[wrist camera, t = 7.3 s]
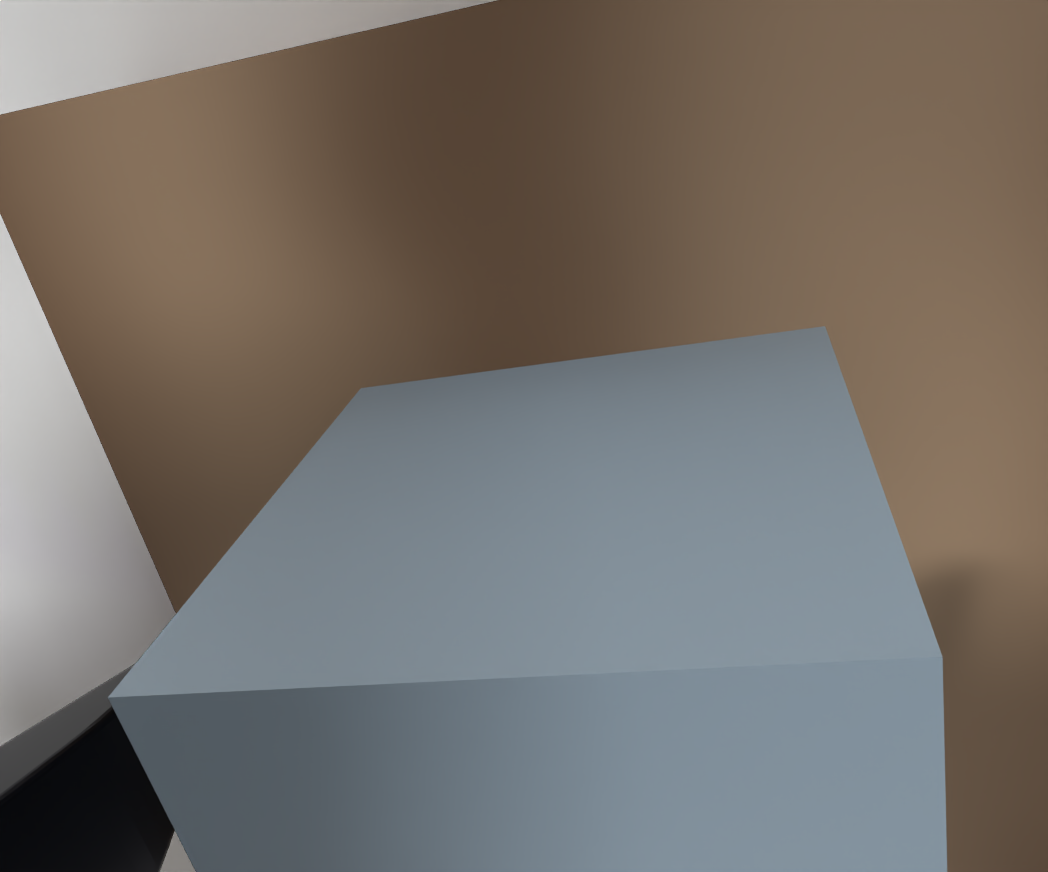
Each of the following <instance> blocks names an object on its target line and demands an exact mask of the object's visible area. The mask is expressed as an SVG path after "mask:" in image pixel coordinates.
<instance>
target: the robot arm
mask: <svg viewBox="0 0 1048 872" xmlns="http://www.w3.org/2000/svg"><path fill="white" fill-rule="evenodd" d="M134 665H135V664H134ZM134 665H132V666H131V667H129V668H127V669H126V670H124V671H123V672H121V673H119V674H118V675H116V676H114V677H113V678H111V679H109V680H108V681H106V682H105V683H103V684H101V685H100V686H98V687H96V688H95V689H93V690H91V691H90V692H88V693H87V694H85V695H83V696H82V697H80V698H78V699H77V700H75V701H73V702H72V703H70V704H69V705H67V706H65V707H64V708H62V709H60V710H59V711H57V712H56V713H54V714H52V715H51V716H49V717H47V718H46V719H44V720H42V721H41V722H39V723H38V724H36V725H34V726H33V727H31V728H29V729H28V730H26V731H24V732H23V733H21V734H20V735H18V736H16V737H15V738H13V739H11V740H10V741H8V742H7V743H5V744H3V745H2V746H0V872H160V869H161V867H162V864H163V861H164V859H165V856H166V853H167V851H168V848H169V845H170V842H171V839H172V836H173V833H174V831H175V829H174V827H173V825H172V824H171V822H170V820H169V818H168V816H167V814H166V812H165V810H164V808H163V806H162V804H161V802H160V800H159V798H158V796H157V794H156V792H155V790H154V788H153V786H152V784H151V782H150V780H149V778H148V776H147V774H146V772H145V770H144V768H143V766H142V764H141V762H140V760H139V758H138V756H137V754H136V752H135V750H134V748H133V746H132V744H131V742H130V740H129V738H128V736H127V735H126V733H125V731H124V729H123V727H122V725H121V723H120V721H119V719H118V717H117V715H116V713H115V711H114V709H113V707H112V705H111V703H110V701H109V699H108V697H109V695H110V694H111V693H112V692H113V691H114V689H115V688H116V687H117V686H118V684H119V683H120V682H121V681H122V680H123V678H124V677H125V676H126V675H127V673H128V672H129V671H130V670H131V669H132V667H133V666H134Z"/></svg>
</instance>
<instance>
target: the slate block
mask: <svg viewBox="0 0 1048 872" xmlns="http://www.w3.org/2000/svg"><path fill="white" fill-rule="evenodd" d="M108 699H109V701H110V703H111V705H112V707H113V709H114V711H115V713H116V715H117V717H118V719H119V721H120V723H121V725H122V727H123V729H124V731H125V733H126V735H127V736H128V738H129V740H130V742H131V744H132V746H133V748H134V750H135V752H136V754H137V756H138V758H139V760H140V762H141V764H142V766H143V768H144V770H145V772H146V774H147V776H148V778H149V780H150V782H151V784H152V786H153V788H154V790H155V792H156V794H157V796H158V798H159V800H160V802H161V804H162V806H163V808H164V810H165V812H166V814H167V816H168V818H169V820H170V822H171V824H172V825H173V827H174V829H175V831H176V833H177V835H178V837H179V839H180V841H181V843H182V845H183V847H184V849H185V851H186V853H187V855H188V857H189V859H190V861H191V863H192V865H193V867H194V869H195V871H196V872H947V839H946V793H945V748H944V702H943V657H942V654H941V651H940V648H939V645H938V643H937V640H936V637H935V634H934V631H933V629H932V626H931V623H930V620H929V617H928V614H927V612H926V609H925V606H924V603H923V600H922V598H921V595H920V592H919V589H918V586H917V584H916V581H915V578H914V575H913V572H912V569H911V567H910V564H909V561H908V558H907V555H906V553H905V550H904V547H903V544H902V541H901V538H900V536H899V533H898V530H897V527H896V524H895V522H894V519H893V516H892V513H891V510H890V507H889V505H888V502H887V499H886V496H885V493H884V491H883V488H882V485H881V482H880V479H879V477H878V474H877V471H876V468H875V465H874V462H873V460H872V457H871V454H870V451H869V448H868V446H867V443H866V440H865V437H864V434H863V431H862V429H861V426H860V423H859V420H858V417H857V415H856V412H855V409H854V406H853V403H852V400H851V398H850V395H849V392H848V389H847V386H846V384H845V381H844V378H843V375H842V372H841V370H840V367H839V364H838V361H837V358H836V355H835V353H834V350H833V347H832V344H831V341H830V339H829V336H828V333H827V330H826V327H825V326H822V327H815V328H808V329H800V330H793V331H785V332H778V333H770V334H763V335H755V336H748V337H740V338H733V339H725V340H718V341H710V342H703V343H695V344H688V345H680V346H673V347H665V348H658V349H650V350H643V351H635V352H628V353H621V354H613V355H606V356H598V357H591V358H583V359H576V360H568V361H561V362H553V363H546V364H538V365H531V366H523V367H516V368H508V369H501V370H493V371H486V372H478V373H471V374H463V375H456V376H449V377H441V378H434V379H426V380H419V381H411V382H404V383H396V384H389V385H381V386H374V387H366V388H361V389H360V390H359V391H358V392H357V394H356V395H355V396H354V397H353V398H352V400H351V401H350V402H349V403H348V405H347V406H346V407H345V408H344V409H343V411H342V412H341V413H340V414H339V416H338V417H337V418H336V419H335V420H334V422H333V423H332V424H331V425H330V427H329V428H328V429H327V430H326V431H325V433H324V434H323V435H322V436H321V438H320V439H319V440H318V441H317V442H316V444H315V445H314V446H313V447H312V449H311V450H310V451H309V452H308V453H307V455H306V456H305V457H304V458H303V460H302V461H301V462H300V463H299V464H298V466H297V467H296V468H295V469H294V471H293V472H292V473H291V474H290V475H289V477H288V478H287V479H286V480H285V482H284V483H283V484H282V485H281V486H280V488H279V489H278V490H277V491H276V493H275V494H274V495H273V496H272V497H271V499H270V500H269V501H268V502H267V504H266V505H265V506H264V507H263V508H262V510H261V511H260V512H259V513H258V515H257V516H256V517H255V518H254V519H253V521H252V522H251V523H250V524H249V526H248V527H247V528H246V529H245V530H244V532H243V533H242V534H241V535H240V537H239V538H238V539H237V540H236V541H235V543H234V544H233V545H232V546H231V548H230V549H229V550H228V551H227V552H226V554H225V555H224V556H223V557H222V559H221V560H220V561H219V562H218V563H217V565H216V566H215V567H214V568H213V570H212V571H211V572H210V573H209V574H208V576H207V577H206V578H205V579H204V581H203V582H202V583H201V584H200V585H199V587H198V588H197V589H196V590H195V592H194V593H193V594H192V595H191V596H190V598H189V599H188V600H187V601H186V603H185V604H184V605H183V606H182V607H181V609H180V610H179V611H178V612H177V614H176V615H175V616H174V617H173V618H172V620H171V621H170V622H169V623H168V625H167V626H166V627H165V628H164V629H163V631H162V632H161V633H160V634H159V636H158V637H157V638H156V639H155V640H154V642H153V643H152V644H151V645H150V647H149V648H148V649H147V650H146V651H145V653H144V654H143V655H142V656H141V658H140V659H139V660H138V661H137V662H136V664H135V665H134V666H133V667H132V669H131V670H130V671H129V672H128V673H127V675H126V676H125V677H124V678H123V680H122V681H121V682H120V683H119V684H118V686H117V687H116V688H115V689H114V691H113V692H112V693H111V694H110V695H109V697H108Z"/></svg>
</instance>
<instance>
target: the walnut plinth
mask: <svg viewBox="0 0 1048 872" xmlns="http://www.w3.org/2000/svg"><path fill="white" fill-rule="evenodd" d="M0 214H1V216H2V219H3V221H4V223H5V225H6V228H7V230H8V232H9V234H10V237H11V239H12V241H13V244H14V246H15V248H16V250H17V253H18V255H19V257H20V260H21V262H22V264H23V266H24V269H25V271H26V273H27V275H28V278H29V280H30V282H31V285H32V287H33V289H34V291H35V294H36V296H37V298H38V300H39V303H40V305H41V307H42V310H43V312H44V314H45V316H46V319H47V321H48V323H49V326H50V328H51V330H52V332H53V335H54V337H55V339H56V341H57V344H58V346H59V348H60V351H61V353H62V355H63V357H64V360H65V362H66V364H67V366H68V369H69V371H70V373H71V376H72V378H73V380H74V382H75V385H76V387H77V389H78V392H79V394H80V396H81V398H82V401H83V403H84V405H85V407H86V410H87V412H88V414H89V417H90V419H91V421H92V423H93V426H94V428H95V430H96V432H97V435H98V437H99V439H100V442H101V444H102V446H103V448H104V451H105V453H106V455H107V458H108V460H109V462H110V464H111V467H112V469H113V471H114V473H115V476H116V478H117V480H118V483H119V485H120V487H121V489H122V492H123V494H124V496H125V499H126V501H127V503H128V505H129V508H130V510H131V512H132V514H133V517H134V519H135V521H136V524H137V526H138V528H139V530H140V533H141V535H142V537H143V539H144V542H145V544H146V546H147V549H148V551H149V553H150V555H151V558H152V560H153V562H154V565H155V567H156V569H157V571H158V574H159V576H160V578H161V580H162V583H163V585H164V587H165V590H166V592H167V594H168V596H169V599H170V601H171V603H172V605H173V608H174V610H175V612H176V614H177V612H178V611H179V610H180V609H181V607H182V606H183V605H184V604H185V603H186V601H187V600H188V599H189V598H190V596H191V595H192V594H193V593H194V592H195V590H196V589H197V588H198V587H199V585H200V584H201V583H202V582H203V581H204V579H205V578H206V577H207V576H208V574H209V573H210V572H211V571H212V570H213V568H214V567H215V566H216V565H217V563H218V562H219V561H220V560H221V559H222V557H223V556H224V555H225V554H226V552H227V551H228V550H229V549H230V548H231V546H232V545H233V544H234V543H235V541H236V540H237V539H238V538H239V537H240V535H241V534H242V533H243V532H244V530H245V529H246V528H247V527H248V526H249V524H250V523H251V522H252V521H253V519H254V518H255V517H256V516H257V515H258V513H259V512H260V511H261V510H262V508H263V507H264V506H265V505H266V504H267V502H268V501H269V500H270V499H271V497H272V496H273V495H274V494H275V493H276V491H277V490H278V489H279V488H280V486H281V485H282V484H283V483H284V482H285V480H286V479H287V478H288V477H289V475H290V474H291V473H292V472H293V471H294V469H295V468H296V467H297V466H298V464H299V463H300V462H301V461H302V460H303V458H304V457H305V456H306V455H307V453H308V452H309V451H310V450H311V449H312V447H313V446H314V445H315V444H316V442H317V441H318V440H319V439H320V438H321V436H322V435H323V434H324V433H325V431H326V430H327V429H328V428H329V427H330V425H331V424H332V423H333V422H334V420H335V419H336V418H337V417H338V416H339V414H340V413H341V412H342V411H343V409H344V408H345V407H346V406H347V405H348V403H349V402H350V401H351V400H352V398H353V397H354V396H355V395H356V394H357V392H358V391H359V390H360V389H361V388H366V387H374V386H381V385H389V384H396V383H404V382H411V381H419V380H426V379H434V378H441V377H449V376H456V375H463V374H471V373H478V372H486V371H493V370H501V369H508V368H516V367H523V366H531V365H538V364H546V363H553V362H561V361H568V360H576V359H583V358H591V357H598V356H606V355H613V354H621V353H628V352H635V351H643V350H650V349H658V348H665V347H673V346H680V345H688V344H695V343H703V342H710V341H718V340H725V339H733V338H740V337H748V336H755V335H763V334H770V333H778V332H785V331H793V330H800V329H808V328H815V327H822V326H825V327H826V330H827V333H828V336H829V339H830V341H831V344H832V347H833V350H834V353H835V355H836V358H837V361H838V364H839V367H840V370H841V372H842V375H843V378H844V381H845V384H846V386H847V389H848V392H849V395H850V398H851V400H852V403H853V406H854V409H855V412H856V415H857V417H858V420H859V423H860V426H861V429H862V431H863V434H864V437H865V440H866V443H867V446H868V448H869V451H870V454H871V457H872V460H873V462H874V465H875V468H876V471H877V474H878V477H879V479H880V482H881V485H882V488H883V491H884V493H885V496H886V499H887V502H888V505H889V507H890V510H891V513H892V516H893V519H894V522H895V524H896V527H897V530H898V533H899V536H900V538H901V541H902V544H903V547H904V550H905V553H906V555H907V558H908V561H909V564H910V567H911V569H912V572H913V575H914V578H915V581H916V584H917V586H918V589H919V592H920V595H921V598H922V600H923V603H924V606H925V609H926V612H927V614H928V617H929V620H930V623H931V626H932V629H933V631H934V634H935V637H936V640H937V643H938V645H939V648H940V651H941V654H942V657H943V702H944V748H945V793H946V839H947V872H1048V0H497V1H493V2H489V3H484V4H480V5H476V6H471V7H467V8H463V9H458V10H454V11H450V12H445V13H441V14H437V15H432V16H428V17H423V18H419V19H415V20H410V21H406V22H402V23H397V24H393V25H389V26H384V27H380V28H376V29H371V30H367V31H363V32H358V33H354V34H349V35H345V36H341V37H336V38H332V39H328V40H323V41H319V42H315V43H310V44H306V45H302V46H297V47H293V48H289V49H284V50H280V51H276V52H271V53H267V54H262V55H258V56H254V57H249V58H245V59H241V60H236V61H232V62H228V63H223V64H219V65H215V66H210V67H206V68H202V69H197V70H193V71H188V72H184V73H180V74H175V75H171V76H167V77H162V78H158V79H154V80H149V81H145V82H141V83H136V84H132V85H128V86H123V87H119V88H115V89H110V90H106V91H101V92H97V93H93V94H88V95H84V96H80V97H75V98H71V99H67V100H62V101H58V102H54V103H49V104H45V105H41V106H36V107H32V108H27V109H23V110H19V111H14V112H10V113H6V114H1V115H0Z"/></svg>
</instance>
